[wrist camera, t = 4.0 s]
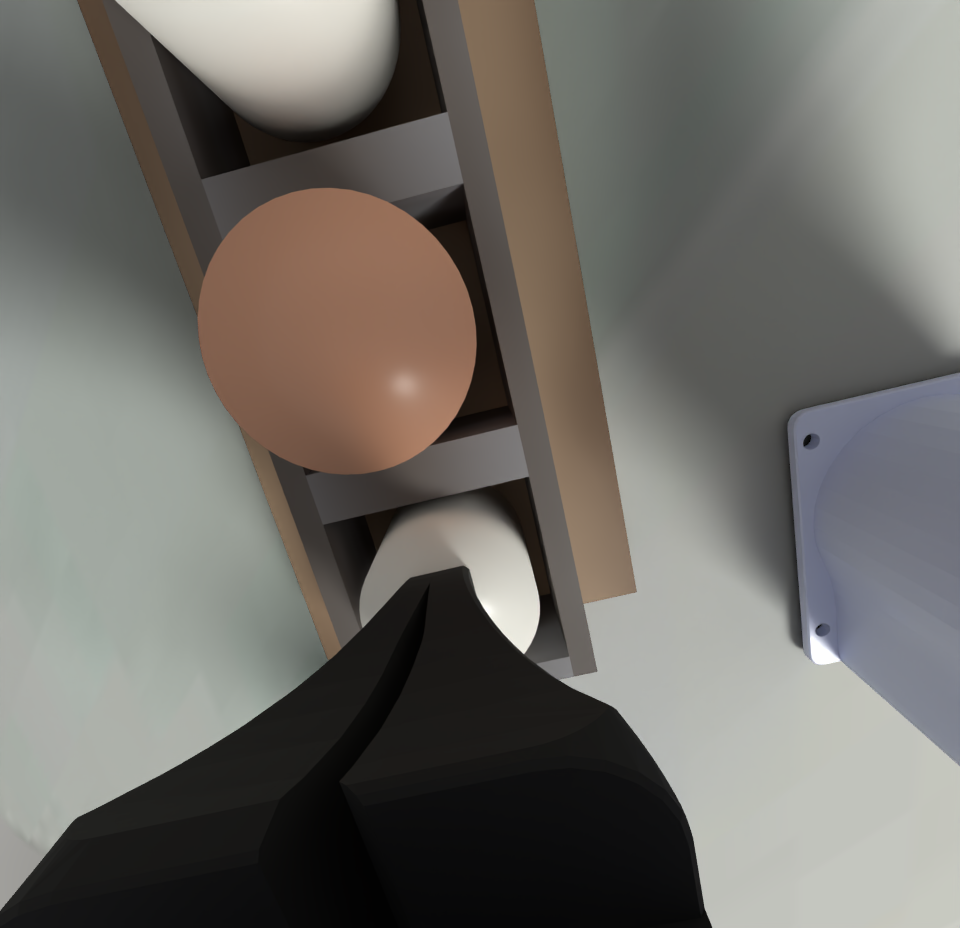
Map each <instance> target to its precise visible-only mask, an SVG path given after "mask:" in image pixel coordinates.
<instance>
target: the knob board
mask: <svg viewBox="0 0 960 928" xmlns="http://www.w3.org/2000/svg"><path fill="white" fill-rule="evenodd" d="M77 1H78V4H79V6H80V9H81V12H82V14H83V17H84V19H85V22H86V25H87V27H88V30H89V33H90V35H91V38H92V40H93V43H94V46H95V48H96V51H97V54H98V56H99V59H100V62H101V64H102V67H103V69H104V72H105V75H106V77H107V80H108V83H109V85H110V88H111V90H112V93H113V96H114V98H115V101H116V104H117V106H118V109H119V112H120V114H121V117H122V119H123V122H124V125H125V127H126V130H127V133H128V135H129V138H130V140H131V143H132V146H133V148H134V151H135V154H136V156H137V159H138V161H139V164H140V167H141V169H142V172H143V175H144V177H145V180H146V183H147V185H148V188H149V190H150V193H151V196H152V198H153V201H154V204H155V206H156V209H157V211H158V214H159V217H160V219H161V222H162V225H163V227H164V230H165V232H166V235H167V238H168V240H169V243H170V246H171V248H172V251H173V254H174V256H175V259H176V261H177V264H178V267H179V269H180V272H181V275H182V277H183V280H184V282H185V285H186V288H187V290H188V293H189V296H190V298H191V301H192V304H193V306H194V309H195V311H196V314H197V317H198V307H199V298H200V293H201V288H202V283H203V280H204V277H205V274H206V271H207V269H208V266H209V263H210V262H211V260H212V258H213V256H214V254H215V252H216V250H217V248H218V247H219V245H220V244H221V243H222V241H223V240H224V238H225V237H226V236H227V234H228V233H229V232H230V231H231V230H232V229H233V228H234V227H235V226H236V225H237V224H238V223H239V222H240V221H241V220H242V219H243V218H244V217H245V216H247V215H248V214H249V213H251V212H252V211H253V210H255V209H256V208H257V207H259V206H261V205H263V204H265V203H267V202H269V201H270V200H272V199H274V198H277V197H280V196H283V195H286V194H288V193H291V192H296V191H301V190H306V189H313V188H338V189H347V190H353V191H357V192H361V193H365V194H369V195H372V196H374V197H377V198H379V199H382V200H384V201H387V202H389V203H391V204H392V205H394V206H396V207H398V208H399V209H401V210H403V211H405V212H406V213H408V214H409V215H410V216H412V217H413V218H414V219H416V220H417V221H418V222H419V223H421V224H422V225H423V226H424V227H425V228H426V229H427V230H428V231H429V232H430V233H431V234H432V235H433V236H434V237H435V238H436V239H437V240H438V241H439V243H440V244H441V245H442V246H443V248H444V249H445V250H446V251H447V253H448V254H449V256H450V257H451V259H452V260H453V262H454V264H455V265H456V267H457V269H458V270H459V272H460V275H461V277H462V279H463V281H464V284H465V286H466V288H467V291H468V294H469V298H470V301H471V304H472V308H473V313H474V319H475V325H476V343H477V347H476V358H475V366H474V371H473V375H472V380H471V383H470V386H469V389H468V392H467V395H466V397H465V399H464V401H463V403H462V405H461V407H460V409H459V411H458V413H457V415H456V416H455V417H454V419H453V420H452V422H451V423H450V425H449V426H448V427H447V429H446V430H445V431H444V432H443V433H442V434H441V435H440V436H439V437H438V438H437V439H436V440H435V441H434V442H433V443H432V444H431V445H429V446H428V447H427V448H426V449H425V450H423V451H422V452H420V453H419V454H417V455H415V456H414V457H412V458H411V459H409V460H407V461H405V462H402V463H400V464H398V465H396V466H394V467H390V468H387V469H384V470H381V471H376V472H371V473H365V474H349V475H343V474H331V473H324V472H320V471H315V470H311V469H308V468H305V467H302V466H299V465H296V464H293V463H291V462H289V461H287V460H285V459H283V458H281V457H279V456H277V455H276V454H274V453H272V452H271V451H269V450H268V449H266V448H264V447H263V446H262V445H261V444H259V443H258V442H257V441H256V440H254V439H253V438H252V437H251V436H249V435H248V434H247V433H246V431H245V430H244V429H243V428H242V427H241V426H240V425H239V427H240V430H241V432H242V435H243V438H244V440H245V443H246V446H247V448H248V451H249V453H250V456H251V459H252V461H253V464H254V467H255V469H256V472H257V474H258V477H259V480H260V482H261V485H262V488H263V490H264V493H265V496H266V498H267V501H268V503H269V506H270V509H271V511H272V514H273V517H274V519H275V522H276V524H277V527H278V530H279V532H280V535H281V538H282V540H283V543H284V545H285V548H286V551H287V553H288V556H289V559H290V561H291V564H292V567H293V569H294V572H295V574H296V577H297V580H298V582H299V585H300V588H301V590H302V593H303V595H304V598H305V601H306V603H307V606H308V609H309V611H310V614H311V616H312V619H313V622H314V624H315V627H316V630H317V632H318V635H319V638H320V640H321V643H322V645H323V648H324V651H325V653H326V656H327V659H328V660H329V659H331V658H332V657H333V656H335V655H336V654H337V653H338V652H339V651H340V650H341V649H342V648H343V647H344V646H345V645H346V644H347V643H348V642H349V641H350V640H351V639H352V638H353V637H354V636H355V635H356V634H357V633H358V632H359V631H360V630H361V629H362V624H361V619H360V611H359V609H360V596H361V590H362V587H363V584H364V581H365V579H366V576H367V574H368V572H369V570H370V567H371V565H372V563H373V561H374V558H375V556H376V554H377V552H378V550H379V547H380V545H381V543H382V541H383V538H384V536H385V534H386V532H387V529H388V527H389V525H390V523H391V520H392V518H393V516H394V514H395V512H396V510H397V508H398V507H401V506H406V505H410V504H414V503H418V502H423V501H427V500H431V499H435V498H440V497H444V496H448V495H453V494H457V493H461V492H465V491H470V490H474V489H478V488H482V487H487V486H491V487H493V488H494V489H496V490H497V491H499V492H500V493H501V494H502V495H503V496H505V497H506V499H507V500H508V501H509V502H510V503H511V505H512V506H513V508H514V509H515V511H516V513H517V515H518V517H519V520H520V523H521V526H522V530H523V534H524V538H525V542H526V546H527V550H528V554H529V558H530V562H531V566H532V570H533V574H534V578H535V582H536V586H537V590H538V595H539V601H540V616H539V623H538V627H537V630H536V634H535V636H534V638H533V640H532V643H531V644H530V646H529V647H528V649H527V651H526V652H525V653H524V655H526V656H527V657H528V658H529V659H530V660H532V661H533V662H534V663H536V664H537V665H538V666H540V667H541V668H542V669H544V670H545V671H546V672H548V673H549V674H550V675H552V676H553V677H555V678H556V679H557V680H560V679H564V678H569V677H574V676H579V675H583V674H588V673H593V672H597V667H596V663H595V658H594V653H593V648H592V643H591V638H590V634H589V629H588V624H587V619H586V614H585V610H584V605H583V604H585V603H589V602H594V601H598V600H603V599H607V598H612V597H617V596H621V595H626V594H630V593H635V592H637V591H636V585H635V580H634V574H633V568H632V562H631V557H630V551H629V545H628V539H627V533H626V528H625V522H624V516H623V510H622V505H621V499H620V493H619V487H618V482H617V476H616V470H615V464H614V458H613V453H612V447H611V441H610V435H609V430H608V424H607V418H606V412H605V407H604V401H603V395H602V389H601V383H600V378H599V372H598V366H597V360H596V355H595V349H594V343H593V337H592V332H591V326H590V320H589V314H588V309H587V303H586V297H585V291H584V285H583V280H582V274H581V268H580V262H579V257H578V251H577V245H576V239H575V234H574V228H573V222H572V216H571V210H570V205H569V199H568V193H567V187H566V182H565V176H564V170H563V164H562V159H561V153H560V147H559V141H558V135H557V130H556V124H555V118H554V112H553V107H552V101H551V95H550V89H549V84H548V78H547V72H546V66H545V61H544V55H543V49H542V43H541V37H540V32H539V26H538V20H537V14H536V9H535V3H534V0H398V2H399V8H400V20H401V37H400V48H399V54H398V60H397V63H396V67H395V71H394V74H393V76H392V79H391V81H390V84H389V86H388V88H387V90H386V92H385V94H384V95H383V97H382V99H381V100H380V102H379V103H378V104H377V106H376V107H375V108H374V110H373V111H372V112H371V113H370V114H369V115H368V116H367V117H366V118H365V119H364V120H363V121H362V122H361V123H359V124H358V125H357V126H355V127H354V128H353V129H351V130H349V131H347V132H345V133H344V134H342V135H339V136H337V137H334V138H331V139H328V140H323V141H318V142H294V141H288V140H284V139H280V138H276V137H274V136H271V135H269V134H266V133H264V132H262V131H260V130H258V129H257V128H255V127H253V126H251V125H250V124H249V123H247V122H246V121H245V120H243V119H242V118H241V117H239V116H238V115H237V114H236V113H235V112H234V111H233V110H232V109H231V108H230V107H229V106H228V105H226V104H225V103H224V102H223V101H222V100H221V99H220V98H219V97H218V96H217V95H216V94H215V93H214V92H213V91H211V90H210V89H209V88H208V87H207V86H206V85H205V84H204V83H203V82H202V81H201V80H200V79H199V78H198V77H197V76H195V75H194V74H193V73H192V72H191V71H190V70H189V69H188V68H187V67H186V66H185V65H184V64H183V63H182V62H180V61H179V60H178V59H177V58H176V57H175V56H174V55H173V54H172V53H171V52H170V51H169V50H168V49H167V48H165V47H164V46H163V45H162V44H161V43H160V42H159V41H158V40H157V39H156V38H155V37H154V36H153V35H152V34H151V33H149V32H148V31H147V30H146V29H145V28H144V27H143V26H142V25H141V24H140V23H139V22H138V21H137V20H136V19H134V18H133V17H132V16H131V15H130V14H129V13H128V12H127V11H126V10H125V9H124V8H123V7H122V6H121V5H119V4H118V3H117V2H116V1H115V0H77Z"/></svg>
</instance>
